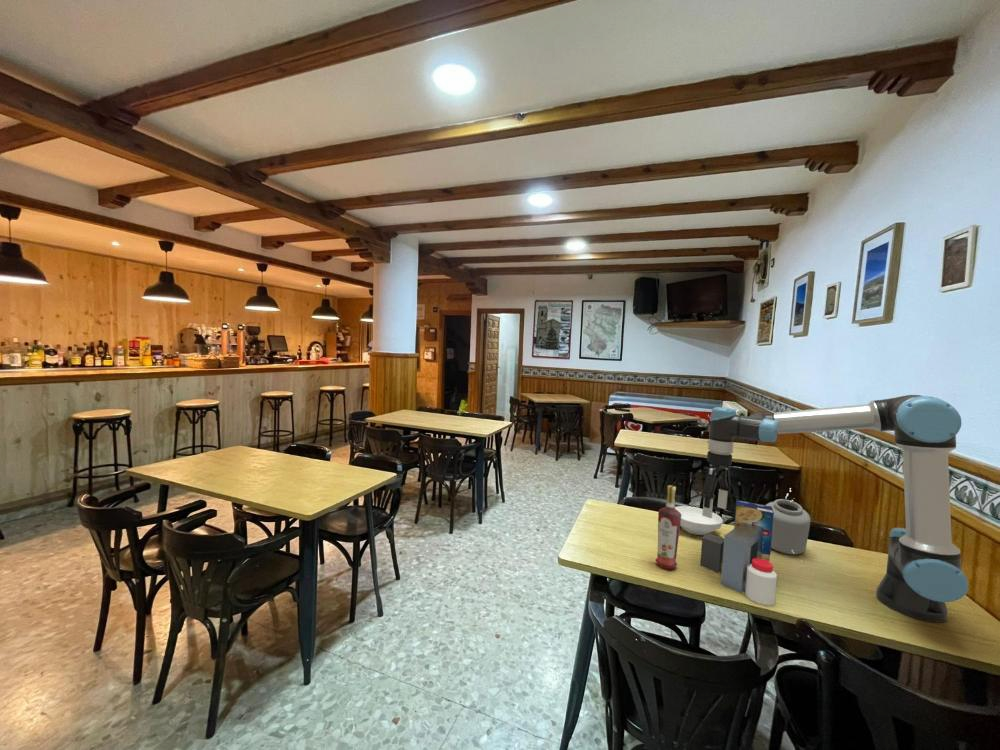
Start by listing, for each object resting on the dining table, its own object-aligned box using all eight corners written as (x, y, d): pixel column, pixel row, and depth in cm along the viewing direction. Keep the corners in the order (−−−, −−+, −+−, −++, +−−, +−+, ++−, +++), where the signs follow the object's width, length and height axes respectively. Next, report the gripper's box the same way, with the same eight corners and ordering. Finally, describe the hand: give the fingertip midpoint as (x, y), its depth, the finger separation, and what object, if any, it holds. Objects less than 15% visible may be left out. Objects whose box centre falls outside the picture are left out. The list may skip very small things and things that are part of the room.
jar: (814, 566, 145) (820, 497, 144) (766, 556, 151) (772, 490, 149) (799, 544, 162) (804, 483, 161) (756, 536, 168) (761, 477, 167)
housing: (761, 572, 138) (764, 526, 138) (741, 593, 125) (745, 542, 124) (741, 564, 143) (745, 520, 142) (720, 584, 129) (724, 535, 129)
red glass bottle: (680, 566, 140) (686, 487, 138) (672, 574, 134) (678, 491, 133) (659, 558, 145) (665, 481, 143) (651, 565, 139) (656, 485, 138)
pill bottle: (775, 608, 118) (778, 572, 117) (744, 599, 122) (747, 563, 121) (774, 596, 124) (777, 561, 124) (745, 587, 128) (747, 554, 128)
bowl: (731, 543, 160) (732, 525, 160) (682, 540, 161) (683, 523, 160) (706, 522, 180) (707, 507, 180) (662, 520, 180) (664, 504, 180)
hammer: (773, 586, 130) (776, 556, 129) (768, 592, 126) (770, 561, 125) (706, 560, 145) (708, 533, 144) (700, 565, 141) (702, 537, 140)
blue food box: (768, 576, 137) (774, 512, 136) (731, 566, 142) (736, 505, 141) (767, 567, 143) (772, 506, 142) (731, 558, 148) (736, 500, 147)
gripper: (721, 446, 150) (716, 501, 151) (693, 454, 134) (688, 516, 135) (743, 450, 145) (738, 508, 146) (717, 459, 128) (712, 524, 129)
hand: (714, 512), depth 140 cm, fingers open, 13 cm apart
